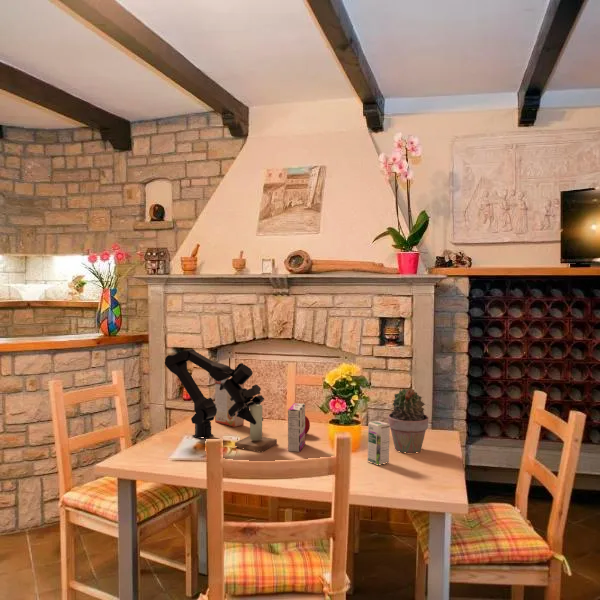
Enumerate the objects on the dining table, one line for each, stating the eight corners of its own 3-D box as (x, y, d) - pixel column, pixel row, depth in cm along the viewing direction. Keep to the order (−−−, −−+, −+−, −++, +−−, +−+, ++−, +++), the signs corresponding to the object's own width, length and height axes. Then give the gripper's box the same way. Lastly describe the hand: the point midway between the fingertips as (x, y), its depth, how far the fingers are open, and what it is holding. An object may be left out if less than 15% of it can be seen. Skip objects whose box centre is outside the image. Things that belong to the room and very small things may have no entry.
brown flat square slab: (235, 447, 216) (235, 442, 216) (251, 439, 227) (251, 435, 227) (261, 452, 211) (261, 447, 211) (276, 443, 222) (276, 439, 221)
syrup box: (366, 462, 200) (367, 422, 200) (378, 459, 204) (378, 420, 203) (378, 466, 196) (378, 425, 195) (389, 463, 199) (390, 423, 199)
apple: (313, 434, 236) (314, 410, 236) (302, 439, 229) (302, 415, 228) (295, 430, 241) (295, 408, 241) (284, 435, 234) (284, 412, 233)
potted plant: (413, 440, 228) (414, 380, 227) (440, 454, 210) (442, 389, 209) (374, 444, 222) (375, 382, 221) (399, 459, 204) (400, 392, 203)
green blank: (248, 440, 217) (248, 407, 216) (251, 436, 222) (251, 404, 221) (260, 440, 216) (261, 407, 216) (263, 437, 221) (263, 404, 220)
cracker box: (244, 425, 250) (244, 379, 249) (234, 427, 245) (234, 380, 245) (224, 419, 259) (224, 375, 259) (214, 421, 255) (214, 376, 254)
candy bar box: (293, 443, 223) (293, 402, 222) (305, 444, 222) (305, 403, 221) (287, 451, 212) (287, 409, 211) (299, 452, 211) (300, 409, 210)
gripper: (234, 382, 212) (258, 415, 207) (260, 375, 228) (283, 405, 223) (217, 400, 215) (241, 432, 211) (244, 392, 232) (266, 421, 227)
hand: (259, 422), depth 218 cm, fingers closed on green blank, 5 cm apart
